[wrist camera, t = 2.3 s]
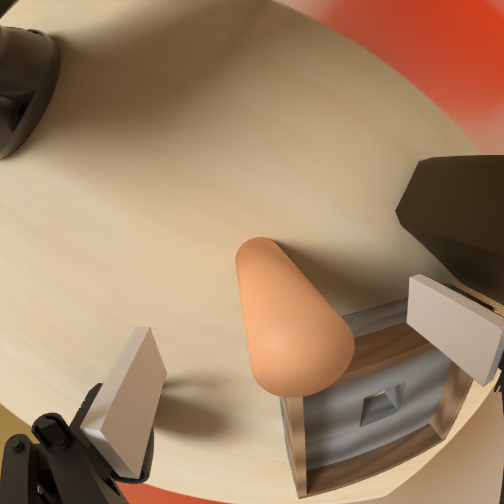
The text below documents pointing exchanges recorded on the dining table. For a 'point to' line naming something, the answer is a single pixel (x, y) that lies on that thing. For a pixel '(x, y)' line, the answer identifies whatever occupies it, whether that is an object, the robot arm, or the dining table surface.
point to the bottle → (460, 217)
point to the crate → (374, 404)
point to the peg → (289, 324)
